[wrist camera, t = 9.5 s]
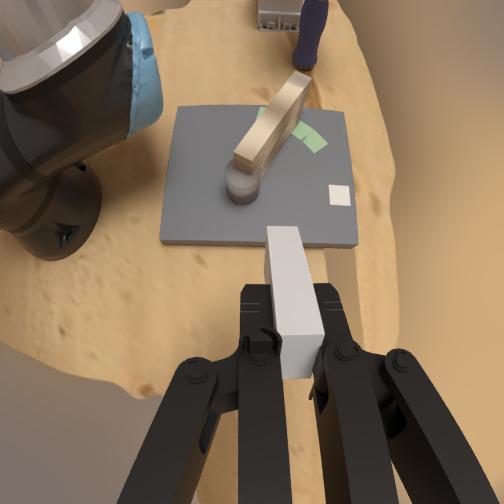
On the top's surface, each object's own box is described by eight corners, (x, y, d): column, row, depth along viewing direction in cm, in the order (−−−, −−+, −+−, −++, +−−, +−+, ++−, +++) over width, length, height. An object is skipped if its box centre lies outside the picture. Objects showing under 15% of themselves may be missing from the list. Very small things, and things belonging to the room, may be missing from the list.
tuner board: (165, 244, 36) (159, 239, 33) (181, 116, 39) (178, 106, 37) (351, 248, 36) (358, 244, 33) (339, 121, 40) (343, 112, 37)
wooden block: (249, 210, 34) (249, 180, 26) (222, 195, 34) (215, 162, 26) (306, 121, 36) (318, 81, 28) (282, 109, 37) (289, 68, 29)
